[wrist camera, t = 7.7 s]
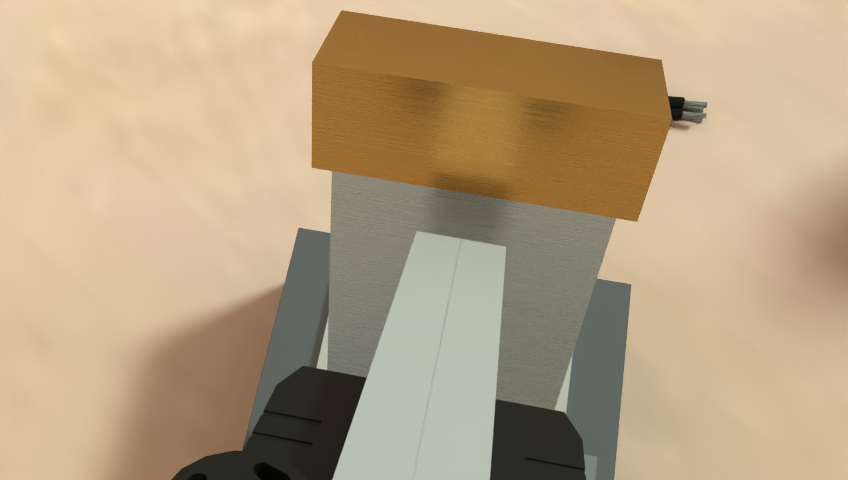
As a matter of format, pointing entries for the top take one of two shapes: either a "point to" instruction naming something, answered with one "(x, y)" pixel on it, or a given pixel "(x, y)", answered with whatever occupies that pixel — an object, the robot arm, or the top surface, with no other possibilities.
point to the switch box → (581, 391)
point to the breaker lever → (479, 175)
